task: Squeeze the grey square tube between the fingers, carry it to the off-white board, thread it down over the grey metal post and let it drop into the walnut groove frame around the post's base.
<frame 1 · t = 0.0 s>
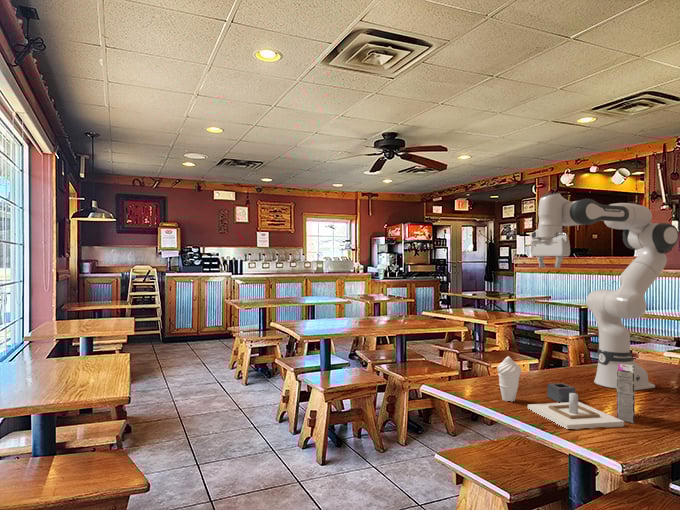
hand: (549, 267, 188), 48 cm above the table, tool pointing down, fingers open, 8 cm apart
post board: (573, 417, 153), on the table
candy bar box: (625, 418, 153), on the table
grey square tube: (561, 399, 172), on the table
soft serve ice cream cone: (508, 400, 170), on the table
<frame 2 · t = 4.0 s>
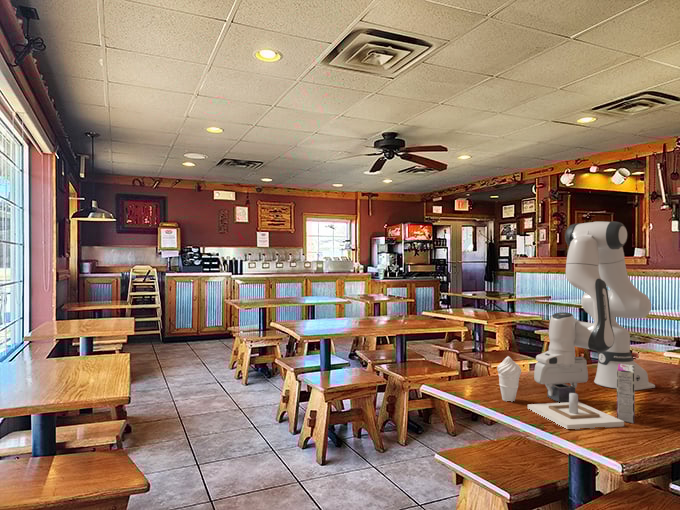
hand: (561, 395, 172), 2 cm above the table, tool pointing down, fingers closed on grey square tube, 7 cm apart
grey square tube: (561, 399, 172), on the table, touching gripper
everything else where it was.
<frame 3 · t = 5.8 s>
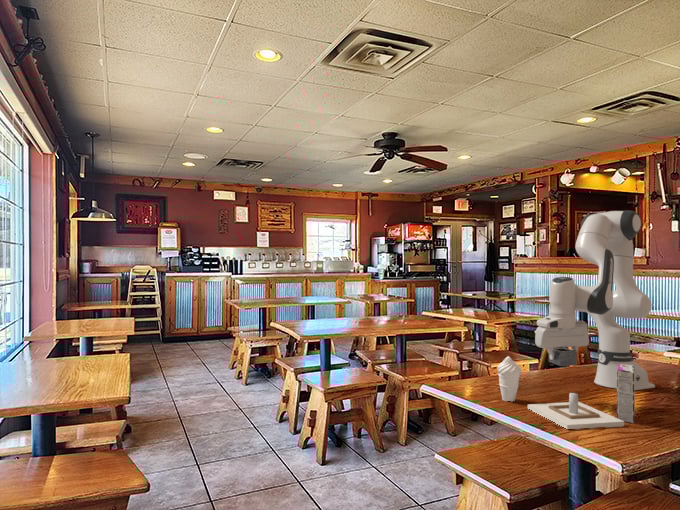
hand: (562, 358, 173), 15 cm above the table, tool pointing down, fingers closed on grey square tube, 7 cm apart
grey square tube: (562, 363, 173), point 13 cm above the table, touching gripper
everything else where it was.
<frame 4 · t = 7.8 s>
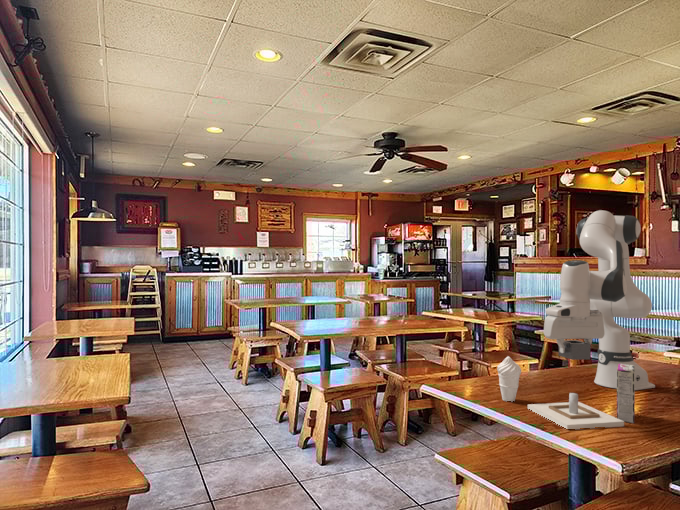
hand: (574, 352, 153), 21 cm above the table, tool pointing down, fingers closed on grey square tube, 7 cm apart
grey square tube: (574, 357, 153), point 19 cm above the table, touching gripper
everything else where it was.
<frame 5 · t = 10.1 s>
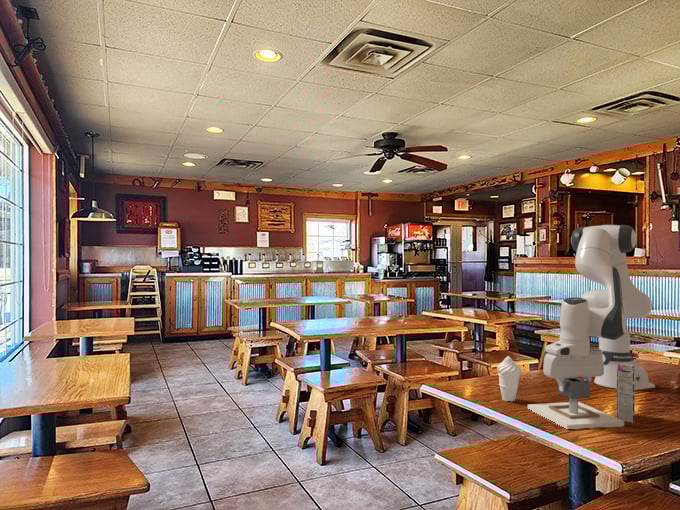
hand: (573, 390, 153), 9 cm above the table, tool pointing down, fingers closed on grey square tube, 7 cm apart
grey square tube: (573, 395, 153), point 7 cm above the table, touching gripper
everything else where it was.
when the fingers open (6 cm above the table, at t = 11.7 s): grey square tube drops 2 cm, resting on post board.
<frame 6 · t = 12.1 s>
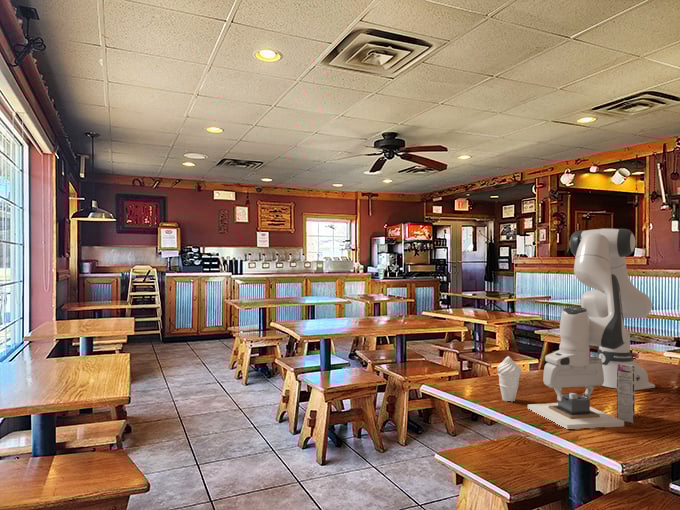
hand: (573, 399, 153), 6 cm above the table, tool pointing down, fingers open, 8 cm apart
grey square tube: (573, 412, 153), point 1 cm above the table, touching post board
everything else where it was.
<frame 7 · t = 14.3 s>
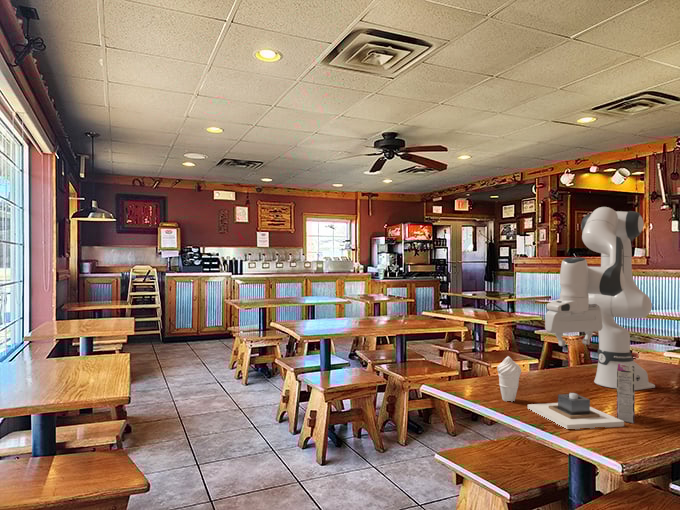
hand: (574, 344, 161), 22 cm above the table, tool pointing down, fingers open, 8 cm apart
nothing on the table moved.
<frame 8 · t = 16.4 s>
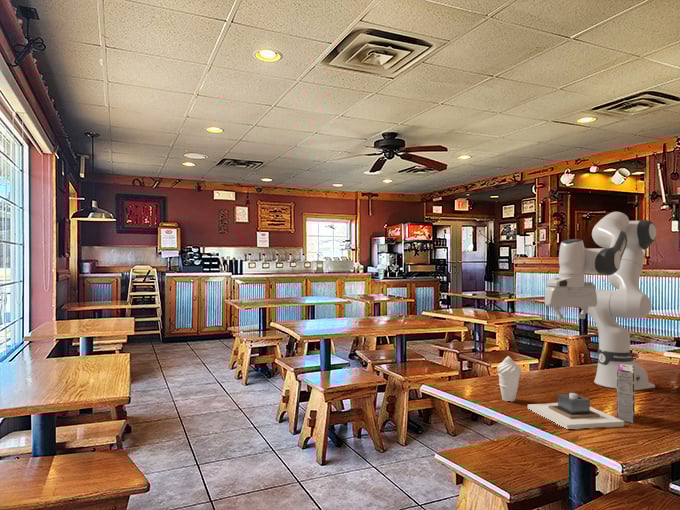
hand: (570, 318, 176), 29 cm above the table, tool pointing down, fingers open, 8 cm apart
nothing on the table moved.
at the end: grey square tube 0.1 cm off-centre on the post board, point 1.5 cm above the post board's base; grey square tube tilted 0°; the gripper is holding nothing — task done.
